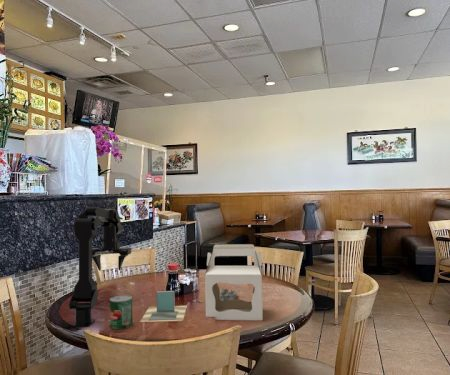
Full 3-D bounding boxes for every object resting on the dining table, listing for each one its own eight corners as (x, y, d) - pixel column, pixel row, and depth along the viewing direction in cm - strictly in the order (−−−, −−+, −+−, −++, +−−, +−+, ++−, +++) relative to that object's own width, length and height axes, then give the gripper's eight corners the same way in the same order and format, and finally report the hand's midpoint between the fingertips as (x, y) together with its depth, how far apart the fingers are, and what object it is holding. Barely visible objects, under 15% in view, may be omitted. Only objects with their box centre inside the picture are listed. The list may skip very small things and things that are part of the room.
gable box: (205, 319, 135) (203, 246, 135) (210, 308, 148) (208, 242, 149) (263, 320, 132) (261, 246, 133) (263, 309, 146) (261, 242, 146)
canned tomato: (136, 325, 130) (136, 295, 130) (125, 333, 122) (125, 301, 123) (117, 323, 132) (117, 294, 132) (105, 331, 124) (105, 300, 125)
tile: (174, 312, 141) (173, 292, 141) (156, 312, 141) (156, 292, 141) (174, 310, 142) (174, 290, 143) (157, 311, 142) (157, 291, 143)
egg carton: (223, 295, 168) (223, 287, 168) (238, 296, 166) (238, 287, 166) (217, 302, 158) (217, 293, 158) (233, 303, 156) (233, 293, 156)
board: (182, 323, 131) (182, 320, 131) (139, 325, 130) (139, 321, 130) (187, 308, 149) (187, 305, 149) (149, 309, 148) (149, 306, 148)
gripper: (134, 234, 169) (134, 266, 169) (96, 234, 170) (96, 267, 169) (127, 236, 158) (127, 271, 157) (86, 237, 159) (86, 272, 158)
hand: (109, 270), depth 161 cm, fingers open, 9 cm apart
